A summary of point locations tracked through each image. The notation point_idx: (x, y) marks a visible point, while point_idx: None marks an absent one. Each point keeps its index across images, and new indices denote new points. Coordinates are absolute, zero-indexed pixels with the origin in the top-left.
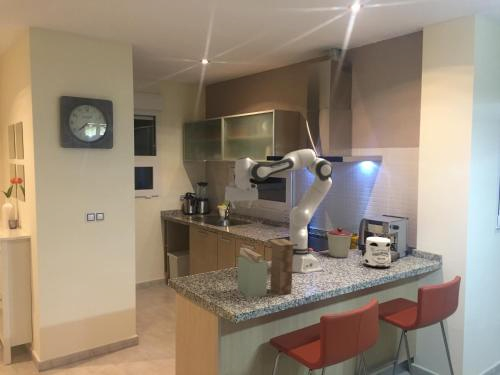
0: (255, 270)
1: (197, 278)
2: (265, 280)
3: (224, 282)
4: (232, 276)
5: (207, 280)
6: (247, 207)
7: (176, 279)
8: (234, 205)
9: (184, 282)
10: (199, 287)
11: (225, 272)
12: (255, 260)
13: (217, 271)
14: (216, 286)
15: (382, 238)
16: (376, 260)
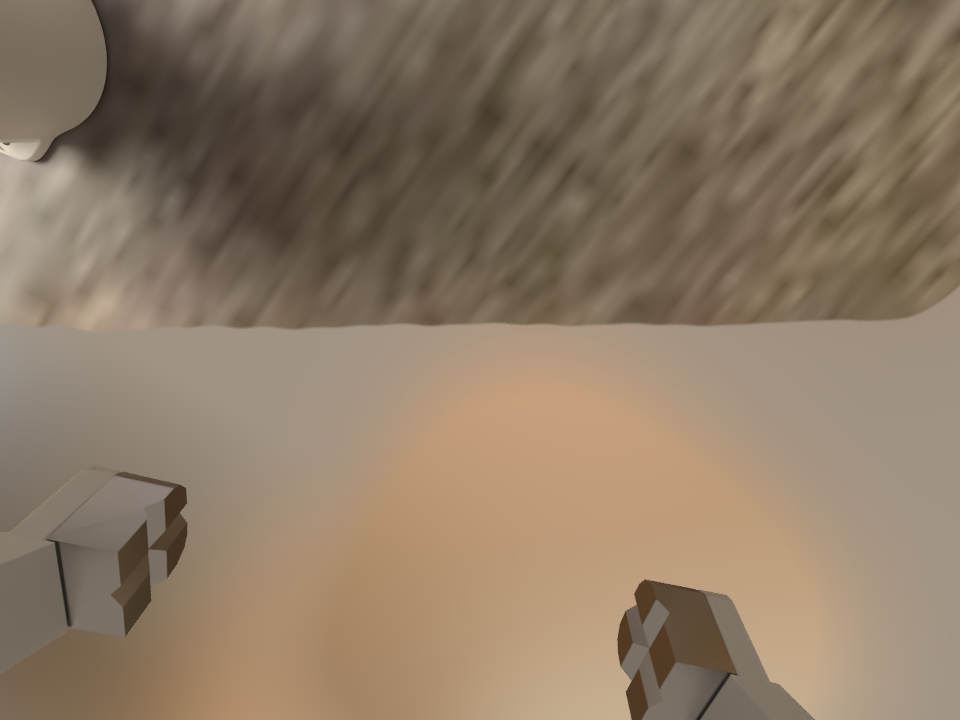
0: None
1: (796, 255)
2: None
3: (726, 62)
4: (575, 164)
5: (781, 177)
6: (172, 531)
7: (909, 307)
8: (693, 694)
9: (927, 223)
10: (952, 57)
11: (552, 273)
12: None
13: (581, 320)
14: (846, 3)
15: None
16: None
